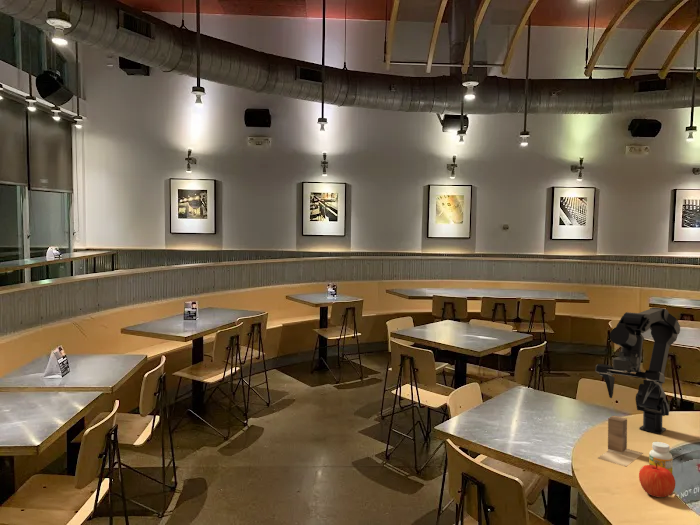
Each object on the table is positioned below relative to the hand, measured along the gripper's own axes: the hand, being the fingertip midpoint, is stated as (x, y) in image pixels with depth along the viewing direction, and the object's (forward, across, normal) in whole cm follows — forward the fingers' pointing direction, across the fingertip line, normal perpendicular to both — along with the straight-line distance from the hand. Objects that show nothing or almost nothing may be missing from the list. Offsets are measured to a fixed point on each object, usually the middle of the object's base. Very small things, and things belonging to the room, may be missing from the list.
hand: (626, 400), depth 160 cm
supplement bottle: (+20, +14, -10) cm, 27 cm away
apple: (+24, +16, -20) cm, 35 cm away
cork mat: (+17, +1, -3) cm, 17 cm away
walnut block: (+16, -1, -1) cm, 16 cm away
